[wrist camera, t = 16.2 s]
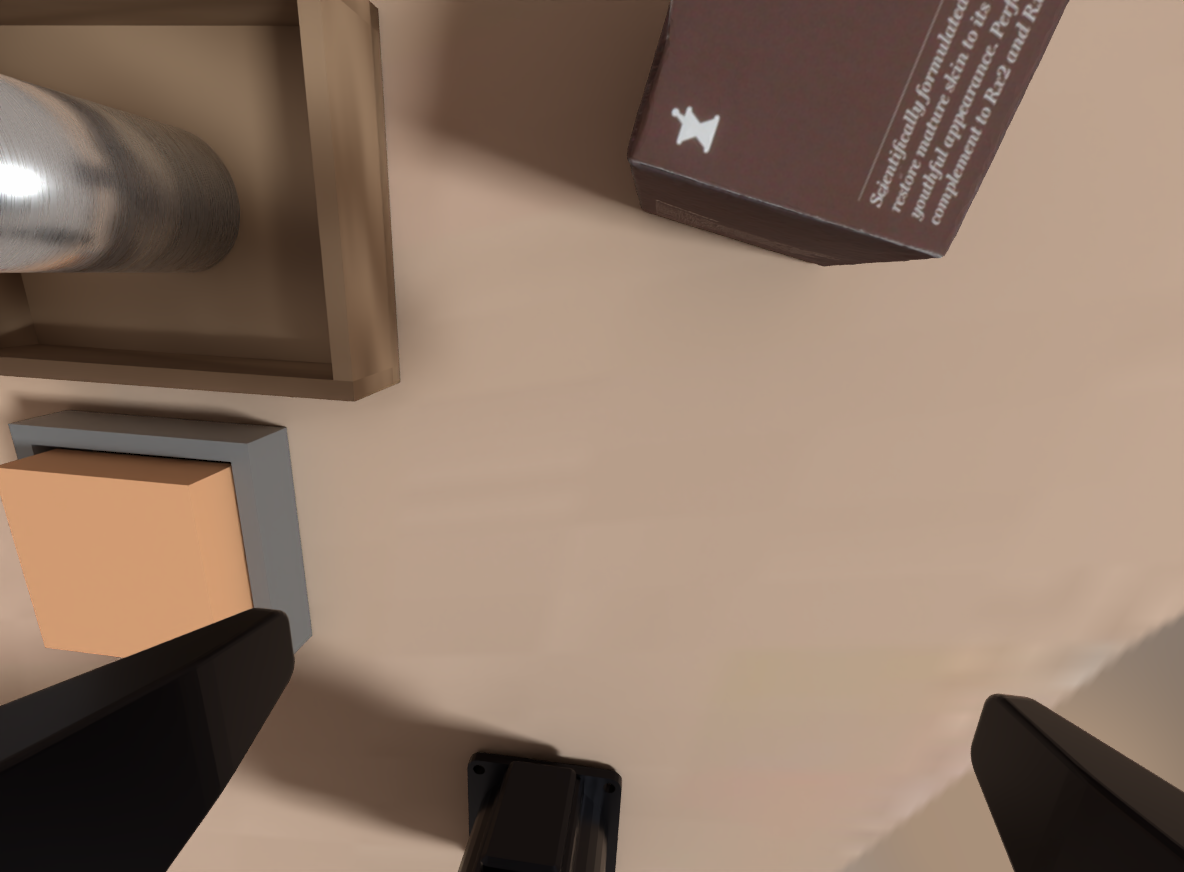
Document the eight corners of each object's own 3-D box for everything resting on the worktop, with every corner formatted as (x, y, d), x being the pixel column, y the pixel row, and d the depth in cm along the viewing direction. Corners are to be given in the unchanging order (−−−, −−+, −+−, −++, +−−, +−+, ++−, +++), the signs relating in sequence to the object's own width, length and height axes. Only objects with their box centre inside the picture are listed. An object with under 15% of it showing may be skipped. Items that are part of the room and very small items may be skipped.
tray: (400, 382, 19) (354, 401, 16) (42, 357, 20) (-58, 371, 18) (377, 8, 16) (315, -50, 13) (-45, 9, 17) (-185, -43, 14)
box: (824, 271, 16) (944, 272, 10) (635, 210, 17) (617, 166, 10) (921, 45, 15) (1160, -162, 8) (707, -22, 15) (749, -286, 8)
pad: (261, 634, 21) (222, 670, 19) (99, 614, 22) (45, 647, 20) (235, 464, 19) (188, 485, 17) (56, 448, 20) (-9, 467, 18)
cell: (248, 275, 18) (-26, 278, 11) (128, 269, 18) (-213, 267, 11) (229, 126, 17) (-96, 16, 10) (100, 123, 17) (-305, 15, 10)
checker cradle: (312, 635, 23) (280, 668, 21) (116, 611, 24) (68, 641, 22) (286, 427, 20) (247, 443, 18) (67, 409, 21) (8, 423, 19)
